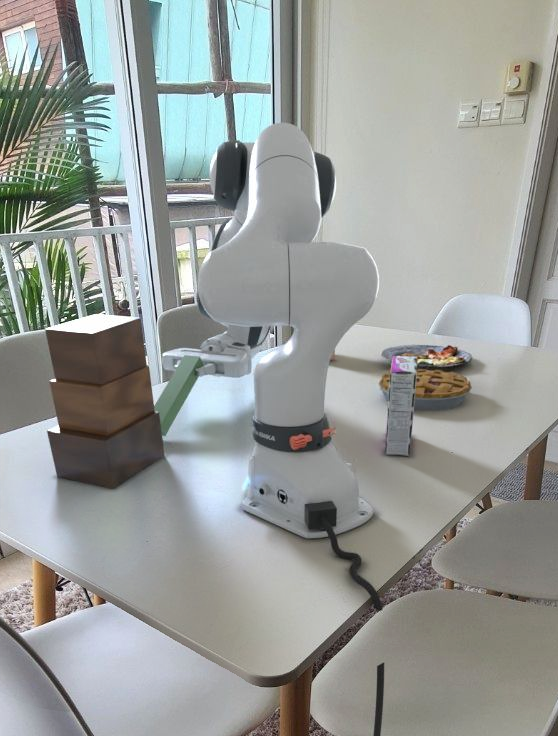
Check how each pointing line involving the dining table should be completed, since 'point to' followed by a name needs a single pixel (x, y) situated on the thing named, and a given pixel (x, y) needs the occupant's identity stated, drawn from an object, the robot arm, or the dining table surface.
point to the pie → (434, 389)
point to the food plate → (430, 355)
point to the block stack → (102, 401)
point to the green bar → (177, 391)
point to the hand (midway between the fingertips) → (186, 371)
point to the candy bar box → (401, 405)
